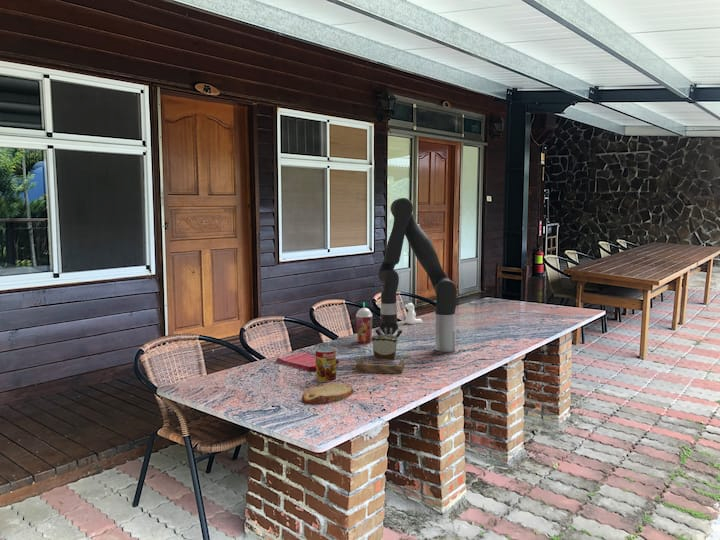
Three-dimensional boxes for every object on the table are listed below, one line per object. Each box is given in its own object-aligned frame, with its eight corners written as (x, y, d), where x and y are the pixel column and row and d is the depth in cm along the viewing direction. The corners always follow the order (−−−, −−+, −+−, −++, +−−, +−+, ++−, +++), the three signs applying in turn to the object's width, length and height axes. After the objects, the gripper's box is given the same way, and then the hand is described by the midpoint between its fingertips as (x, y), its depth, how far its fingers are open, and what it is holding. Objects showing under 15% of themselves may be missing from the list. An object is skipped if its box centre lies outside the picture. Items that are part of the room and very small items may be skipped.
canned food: (328, 383, 232) (328, 352, 230) (312, 380, 236) (311, 350, 235) (340, 377, 239) (339, 348, 237) (323, 375, 243) (323, 346, 241)
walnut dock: (404, 367, 252) (404, 360, 252) (401, 373, 243) (401, 366, 243) (359, 365, 256) (359, 358, 256) (355, 371, 247) (355, 364, 246)
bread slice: (353, 388, 226) (353, 379, 225) (352, 404, 208) (351, 394, 208) (306, 389, 226) (306, 379, 226) (300, 405, 208) (300, 394, 208)
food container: (401, 357, 268) (401, 335, 267) (397, 361, 262) (397, 338, 261) (375, 355, 272) (375, 333, 271) (371, 359, 266) (370, 336, 265)
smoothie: (375, 341, 299) (375, 301, 297) (368, 344, 291) (368, 304, 289) (360, 339, 302) (359, 300, 300) (353, 343, 295) (352, 303, 293)
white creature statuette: (422, 322, 341) (422, 301, 340) (415, 325, 334) (415, 304, 333) (408, 321, 346) (407, 300, 345) (400, 323, 339) (400, 302, 338)
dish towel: (311, 373, 247) (311, 367, 247) (274, 363, 263) (274, 357, 263) (340, 364, 260) (340, 358, 259) (303, 355, 276) (303, 350, 275)
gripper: (404, 311, 276) (404, 348, 278) (375, 310, 279) (376, 347, 281) (402, 314, 269) (402, 352, 271) (373, 313, 271) (373, 351, 273)
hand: (389, 349), depth 276 cm, fingers closed
